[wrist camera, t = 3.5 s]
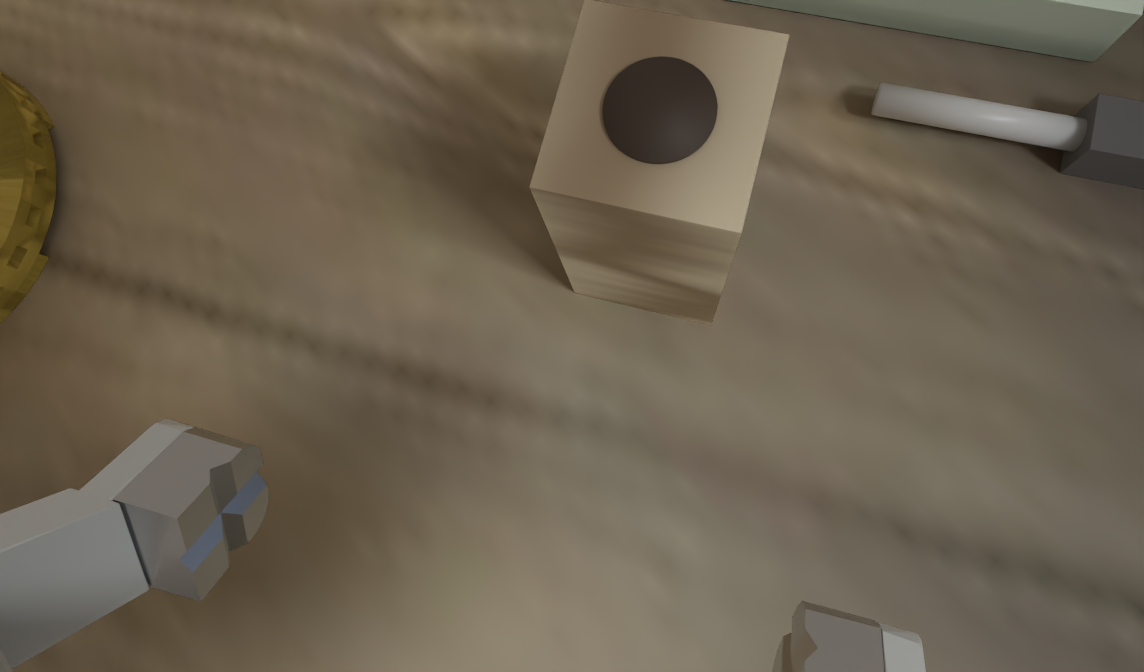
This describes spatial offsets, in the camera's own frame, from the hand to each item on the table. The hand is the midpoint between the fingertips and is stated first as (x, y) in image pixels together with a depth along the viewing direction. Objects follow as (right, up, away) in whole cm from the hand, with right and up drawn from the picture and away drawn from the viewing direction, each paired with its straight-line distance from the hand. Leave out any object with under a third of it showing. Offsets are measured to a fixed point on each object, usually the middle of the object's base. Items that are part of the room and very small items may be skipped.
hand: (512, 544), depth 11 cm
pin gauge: (+17, +9, +13) cm, 23 cm away
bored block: (+4, +6, +14) cm, 15 cm away
